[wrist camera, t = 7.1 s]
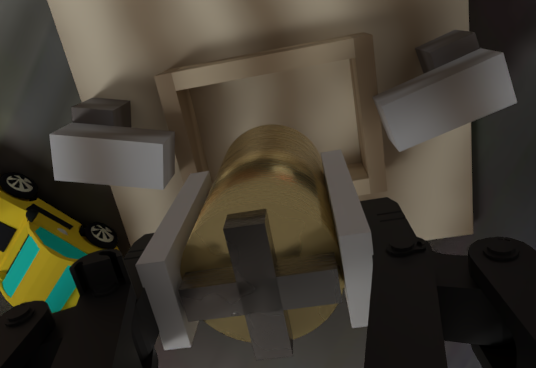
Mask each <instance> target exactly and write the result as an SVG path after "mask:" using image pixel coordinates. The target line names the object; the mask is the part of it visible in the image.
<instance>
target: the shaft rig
mask: <svg viewBox="0 0 536 368" xmlns="http://www.w3.org/2000/svg"><path fill="white" fill-rule="evenodd" d="M47 1H48V4H49V7H50V10H51V13H52V16H53V19H54V22H55V24H56V27H57V30H58V33H59V36H60V39H61V42H62V45H63V48H64V51H65V54H66V57H67V60H68V63H69V66H70V69H71V72H72V75H73V78H74V80H75V83H76V86H77V89H78V92H79V95H80V98H81V101H82V103H79V104H77V105H75V106H73V107H71V110H72V121H73V123H70V124H68V125H66V126H64V127H62V128H60V129H58V130H57V131H55V132H53V133H51V134H49V136H50V145H51V154H52V163H53V172H54V180H57V181H68V182H80V183H91V184H102V185H110V187H111V190H112V193H113V196H114V198H115V201H116V204H117V207H118V210H119V213H120V216H121V219H122V222H123V225H124V228H125V231H126V234H127V237H128V240H129V243H130V246H132V245H133V243H134V242H135V241H137V240H138V239H139V238H141V237H142V236H143V235H144V234H150V233H155V232H156V230H157V228H158V227H159V225H160V223H161V222H162V220H163V218H164V217H165V215H166V213H167V212H168V210H169V208H170V207H171V205H172V203H173V202H174V200H175V198H176V197H177V195H178V193H179V192H180V190H181V188H182V187H183V185H184V183H185V182H186V180H187V178H188V177H189V175H190V174H192V173H198V172H205V171H209V173H210V177H211V181H212V185H213V182H214V180H215V178H216V175H217V173H218V171H219V169H220V166H221V164H222V162H223V159H224V157H225V155H226V153H227V151H228V149H229V147H230V146H231V144H232V143H233V142H234V141H235V140H236V139H237V138H238V137H239V136H240V135H241V134H243V133H244V132H246V131H248V130H249V129H252V128H254V127H257V126H262V125H269V124H275V125H283V126H287V127H290V128H293V129H295V130H297V131H299V132H300V133H302V134H303V135H305V136H306V137H307V138H308V139H309V140H310V141H311V142H312V143H313V144H314V146H315V147H316V149H317V150H318V152H319V154H320V157H321V153H322V152H328V151H334V150H340V149H341V151H342V154H343V157H344V159H345V162H346V165H347V168H348V170H349V173H350V176H351V178H352V181H353V184H354V187H355V189H356V192H357V195H358V198H359V200H360V201H364V200H370V199H377V198H384V197H388V198H390V199H392V200H394V201H395V202H397V203H398V204H399V206H400V208H401V210H402V212H403V213H404V215H405V217H406V219H407V220H408V222H409V224H410V226H411V228H412V229H413V231H414V233H415V235H416V236H417V237H419V238H422V239H424V240H425V241H426V240H433V239H440V238H448V237H455V236H462V235H469V234H473V200H472V150H471V122H472V121H475V120H477V119H480V118H482V117H484V116H487V115H489V114H492V113H494V112H496V111H499V110H501V109H503V108H506V107H508V106H511V105H513V104H515V103H517V100H516V96H515V93H514V89H513V86H512V82H511V78H510V75H509V71H508V68H507V64H506V60H505V57H504V53H503V52H498V51H492V50H487V49H482V48H480V47H479V44H478V40H477V37H476V33H475V32H470V31H469V0H47ZM321 160H322V158H321Z"/></svg>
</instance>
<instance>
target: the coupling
mask: <svg viewBox="0 0 536 368" xmlns="http://www.w3.org/2000/svg"><path fill="white" fill-rule="evenodd" d="M180 275H181V278H182V282H181V284H180V287H179V290H178V291H179V294H180V297H181V301H182V304H183V307H184V310H185V314H186V317H187V320H188V322H194V321H201V320H203V321H205V322H206V323H207V324H208V325H210V326H211V327H212V328H214V329H216V330H217V331H219V332H221V333H223V334H225V335H227V336H229V337H232V338H235V339H237V340H241V341H245V342H251V343H252V346H253V350H254V354H255V358H256V360H264V359H273V358H282V357H291V356H293V339H296V338H299V337H301V336H303V335H306V334H307V333H309V332H311V331H313V330H314V329H316V328H317V327H318V326H320V325H321V324H322V323H323V322H324V321H325V320H326V319H327V318H328V317H329V316H330V315H331V314H332V312H333V311H334V310H335V308H336V306H337V305H338V303H342V292H343V288H344V275H343V268H342V262H341V255H340V249H339V244H338V240H337V235H336V230H335V225H334V220H333V215H332V211H331V206H330V201H329V196H328V191H327V187H326V182H325V177H324V171H323V164H322V160H321V157H320V154H319V152H318V150H317V149H316V147H315V146H314V144H313V143H312V142H311V141H310V140H309V139H308V138H307V137H306V136H305V135H303V134H302V133H300V132H299V131H297V130H295V129H293V128H290V127H287V126H283V125H275V124H269V125H262V126H257V127H254V128H252V129H249V130H248V131H246V132H244V133H243V134H241V135H240V136H239V137H238V138H237V139H236V140H235V141H234V142H233V143H232V144H231V146H230V147H229V149H228V151H227V153H226V155H225V157H224V159H223V162H222V164H221V166H220V169H219V171H218V173H217V175H216V178H215V180H214V182H213V185H212V187H211V189H210V191H209V194H208V196H207V198H206V201H205V203H204V205H203V207H202V210H201V212H200V214H199V217H198V219H197V221H196V223H195V226H194V228H193V230H192V233H191V235H190V237H189V239H188V242H187V244H186V246H185V249H184V251H183V255H182V259H181V266H180Z"/></svg>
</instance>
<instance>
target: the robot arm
mask: <svg viewBox="0 0 536 368" xmlns="http://www.w3.org/2000/svg"><path fill="white" fill-rule="evenodd" d="M321 158H322V164H323V171H324V177H325V182H326V187H327V191H328V196H329V201H330V206H331V211H332V215H333V220H334V225H335V230H336V235H337V240H338V244H339V249H340V255H341V262H342V268H343V275H344V289H345V295H346V300H347V305H348V310H349V315H350V320H351V325H352V328H357V327H366V326H368V328H367V340H366V352H365V363H364V368H447V360H446V353H445V345H444V340H445V341H453V342H461V343H469V344H471V346H472V350H473V352H474V353H475V355H476V357H477V359H478V360H479V362H480V364H481V366H482V367H483V368H536V251H535V250H534V249H533V248H532V247H530V246H529V245H527V244H525V243H524V242H521V241H518V240H515V239H512V238H507V237H505V238H504V237H492V238H485V239H481V240H477V241H476V242H474V243H473V244H471V245H470V247H469V249H468V256H460V255H446V254H441V253H436V252H433V251H432V248H431V246H430V244H429V243H428V242H427V241H425V240H424V239H422V238H419V237H417V236H416V235H415V233H414V231H413V229H412V228H411V226H410V224H409V222H408V220H407V219H406V217H405V215H404V213H403V212H402V210H401V208H400V206H399V204H398V203H397V202H395V201H394V200H392V199H390V198H388V197H384V198H377V199H370V200H364V201H360V200H359V198H358V195H357V192H356V189H355V187H354V184H353V181H352V178H351V176H350V173H349V170H348V168H347V165H346V162H345V159H344V157H343V154H342V151H341V149H340V150H334V151H328V152H322V153H321ZM211 187H212V181H211V177H210V173H209V171H205V172H198V173H192V174H190V175H189V177H188V178H187V180H186V182H185V183H184V185H183V187H182V188H181V190H180V192H179V193H178V195H177V197H176V198H175V200H174V202H173V203H172V205H171V207H170V208H169V210H168V212H167V213H166V215H165V217H164V218H163V220H162V222H161V223H160V225H159V227H158V228H157V230H156V232H155V233H150V234H144V235H143V236H142V237H141V238H139V239H138V240H137V241H135V242H134V243H133V245H132V246H131V248H130V249H129V251H128V253H127V254H126V255H125V257H124V258H123V256H122V254H121V251H119V250H117V249H103V250H99V251H95V252H92V253H90V254H88V255H86V256H84V257H81V258H80V259H78V260H77V261H76V262H74V263H73V264H72V265H71V267H70V268H69V270H70V273H71V275H72V278H73V280H74V282H75V285H76V287H77V290H78V292H79V295H80V297H79V299H78V302H77V304H76V306H74V307H71V308H68V309H65V310H61V311H58V312H55V313H52V312H51V310H50V308H49V306H48V303H46V302H44V301H31V302H24V303H21V304H20V305H16V306H14V307H13V308H12V309H11V310H9V311H7V312H5V313H4V314H3V315H2V316H0V368H158V357H157V353H156V350H155V348H154V344H155V342H156V339H157V337H158V334H159V336H160V339H161V342H162V345H163V348H164V350H171V349H179V348H188V347H191V346H192V343H193V339H194V336H195V332H196V329H197V325H198V322H199V321H194V322H188V320H187V317H186V314H185V310H184V307H183V304H182V301H181V297H180V294H179V291H178V290H179V287H180V284H181V282H182V278H181V275H180V266H181V259H182V255H183V251H184V249H185V246H186V244H187V242H188V239H189V237H190V235H191V233H192V230H193V228H194V226H195V223H196V221H197V219H198V217H199V214H200V212H201V210H202V207H203V205H204V203H205V201H206V198H207V196H208V194H209V191H210V189H211Z"/></svg>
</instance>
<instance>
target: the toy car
mask: <svg viewBox="0 0 536 368" xmlns="http://www.w3.org/2000/svg"><path fill="white" fill-rule="evenodd" d="M36 193H37V186H36V184H35V183H34V182H33V181H32V180H31V179H29V178H28V177H26V176H24V175H22V174H18V173H7V174H4V175H3V176H2V177H1V178H0V291H1V293H2V294H3V296H4V297H5V299H6V300H7V301H8V302H9V303H10V304H11V305H12V306H13V307H14V306H16V305H20V304H21V303H24V302H31V301H44V302H46V303H48V306H49V308H50V310H51V312H52V313H55V312H58V311H61V310H65V309H68V308H71V307H74V306H76V304H77V302H78V299H79V297H80V295H79V292H78V290H77V287H76V285H75V282H74V280H73V278H72V275H71V273H70V270H69V268H70V267H71V265H72V264H73V263H74V262H76V261H77V260H78V259H80V258H81V257H84V256H86V255H88V254H90V253H92V252H95V251H99V250H103V249H109V248H112V247H114V246H115V245H116V244H117V241H118V238H117V235H116V233H115V232H114V231H113V229H111V228H110V227H108V226H106V225H104V224H102V223H91V224H89V225H87V226H86V228H85V229H84V228H83V227H81V225H82V224H80V223H79V222H77V221H75V220H74V219H72V218H70V217H69V216H67V215H65V214H64V213H62V212H60V211H59V210H57V209H55V208H54V207H52V206H51V205H49V204H47V203H46V202H44V201H42V200H41V199H39V198H37V200H35V201H29V199H26V198H31V197H33V196H35V194H36ZM22 198H23V199H22ZM80 227H81V229H80ZM79 229H80V230H79ZM114 249H117V250H119V249H118V247H117V246H116V247H115V248H114Z"/></svg>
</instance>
